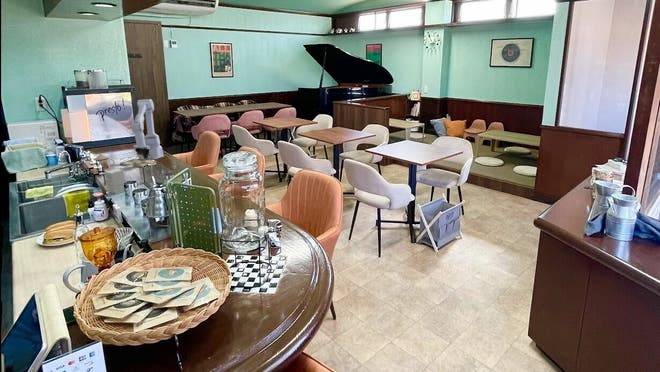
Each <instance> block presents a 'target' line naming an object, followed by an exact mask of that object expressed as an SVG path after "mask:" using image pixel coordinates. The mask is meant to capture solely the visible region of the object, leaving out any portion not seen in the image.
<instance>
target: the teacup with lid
mask: <svg viewBox="0 0 660 372" xmlns="http://www.w3.org/2000/svg"><path fill="white" fill-rule="evenodd" d="M93 159H94V161H95V160H96V161H98V162H100V163H101V165H102V166H103V169H104V170H112V167H113V166H115V163H116V161H115V159H113V158H110V157H109V155H108V156H107V155H103V154H102V153H100V154H99V155H98V156H96V157H95V158H93ZM110 161H113V163H112V164H111V162H110Z"/></svg>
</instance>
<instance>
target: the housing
mask: <svg viewBox="0 0 660 372" xmlns="http://www.w3.org/2000/svg"><path fill="white" fill-rule="evenodd" d="M148 154H149V152H148ZM136 155H137V156H138V158H137V159H138V160H141V161H146V160H149V158H150V155H148V158H147V159H145V158H144V155H143V152H142V153H136Z"/></svg>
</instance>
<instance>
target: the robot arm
mask: <svg viewBox="0 0 660 372" xmlns="http://www.w3.org/2000/svg"><path fill="white" fill-rule="evenodd" d="M136 103H137V104H136V105H137V107H138V110H137V111H138V112H137V114H136V115H135V118H134V122H132V124H131V130H132V133H133V134H134V137H135V142H136V144H134V145H133V149H134V151H135V152H136V154H138V153H142V152H143V155H144V158H145V159H146V160H149V159H150V160H157V159H159V158H163V157H165V155H164V150H163V147H162V146H161V145H160V144H161V140H160V136H159V135H158V134H156V132H155V125H154V124H155V123H154V115H153V112H154V111H155V105H154V103H155V102H153V99H151V98H150V99H138V100H137V102H136ZM144 115H145V116H144ZM144 122H145V123H146V132H147V134H146V135H144V125H145V123H144ZM148 152H149V153H148ZM148 156H149V157H150V158H149V159H147V158H148Z"/></svg>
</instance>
